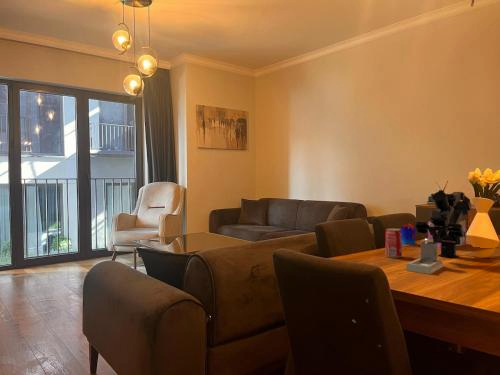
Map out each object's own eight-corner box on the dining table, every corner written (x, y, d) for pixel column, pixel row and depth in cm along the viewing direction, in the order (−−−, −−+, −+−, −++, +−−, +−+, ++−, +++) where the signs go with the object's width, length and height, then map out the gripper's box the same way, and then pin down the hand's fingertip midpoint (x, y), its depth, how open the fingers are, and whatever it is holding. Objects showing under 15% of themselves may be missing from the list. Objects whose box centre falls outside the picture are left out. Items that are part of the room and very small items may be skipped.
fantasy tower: (392, 244, 216) (392, 222, 216) (409, 242, 220) (409, 221, 220) (406, 247, 205) (406, 225, 205) (424, 246, 209) (425, 224, 208)
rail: (421, 263, 168) (421, 256, 168) (443, 266, 162) (443, 259, 162) (406, 270, 155) (406, 263, 155) (429, 274, 149) (430, 267, 149)
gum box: (454, 242, 220) (454, 218, 220) (468, 244, 213) (468, 220, 213) (427, 246, 208) (427, 221, 208) (441, 249, 201) (441, 222, 201)
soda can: (403, 258, 177) (403, 230, 177) (386, 258, 179) (386, 230, 178) (400, 255, 184) (400, 228, 184) (384, 255, 186) (384, 228, 185)
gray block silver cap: (424, 260, 165) (424, 237, 165) (437, 262, 162) (437, 238, 161) (420, 262, 161) (420, 238, 161) (433, 264, 158) (433, 240, 158)
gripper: (416, 203, 176) (407, 230, 168) (462, 205, 163) (454, 234, 156) (422, 219, 182) (413, 245, 174) (467, 222, 169) (459, 251, 162)
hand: (434, 243), depth 166 cm, fingers closed
